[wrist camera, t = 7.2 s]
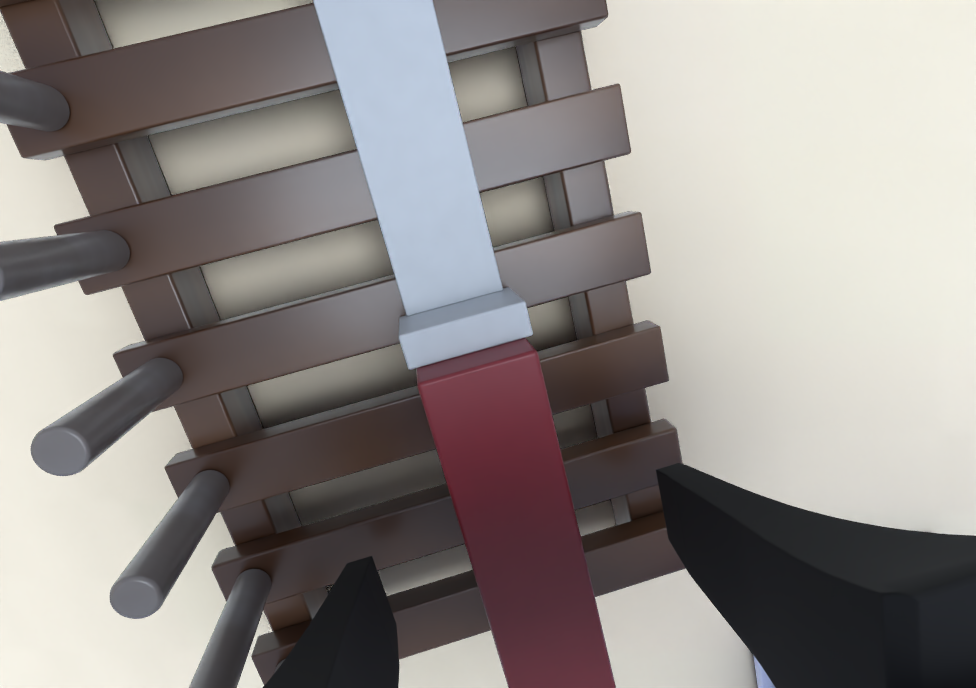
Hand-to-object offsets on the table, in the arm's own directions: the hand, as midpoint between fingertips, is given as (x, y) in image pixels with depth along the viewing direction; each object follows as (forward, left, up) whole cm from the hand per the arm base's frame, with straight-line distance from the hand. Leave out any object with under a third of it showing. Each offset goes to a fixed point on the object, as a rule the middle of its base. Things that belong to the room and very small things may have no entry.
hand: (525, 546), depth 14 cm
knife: (+7, 0, -2) cm, 7 cm away
